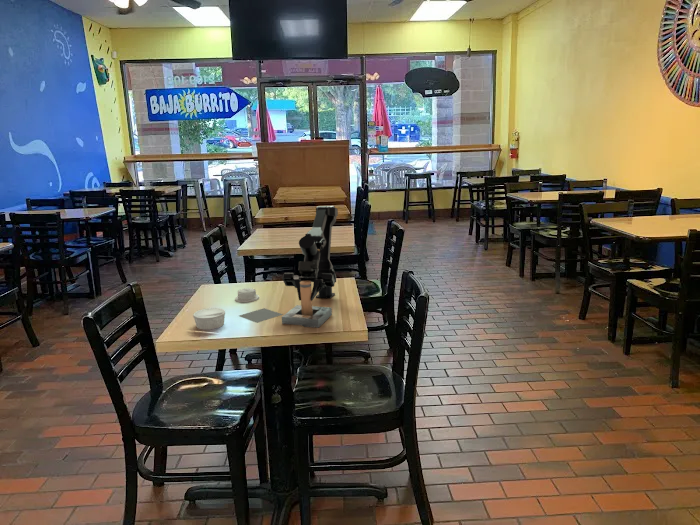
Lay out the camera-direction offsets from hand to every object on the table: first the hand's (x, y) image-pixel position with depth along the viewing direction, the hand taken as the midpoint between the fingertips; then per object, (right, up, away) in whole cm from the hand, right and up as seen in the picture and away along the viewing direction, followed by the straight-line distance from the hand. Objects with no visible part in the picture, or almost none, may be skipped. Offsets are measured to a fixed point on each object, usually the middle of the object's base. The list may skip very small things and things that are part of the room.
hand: (305, 300), depth 192 cm
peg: (0, -6, +3) cm, 7 cm away
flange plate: (0, -7, +3) cm, 8 cm away
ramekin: (-34, -10, 0) cm, 36 cm away
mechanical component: (-27, -2, +31) cm, 41 cm away
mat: (-18, -7, +9) cm, 21 cm away
